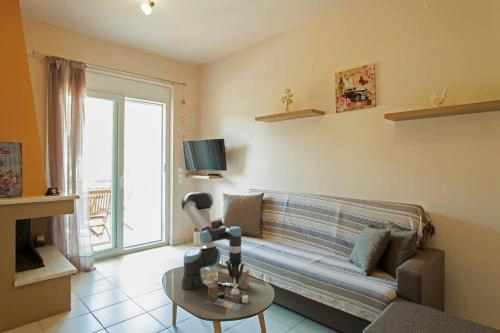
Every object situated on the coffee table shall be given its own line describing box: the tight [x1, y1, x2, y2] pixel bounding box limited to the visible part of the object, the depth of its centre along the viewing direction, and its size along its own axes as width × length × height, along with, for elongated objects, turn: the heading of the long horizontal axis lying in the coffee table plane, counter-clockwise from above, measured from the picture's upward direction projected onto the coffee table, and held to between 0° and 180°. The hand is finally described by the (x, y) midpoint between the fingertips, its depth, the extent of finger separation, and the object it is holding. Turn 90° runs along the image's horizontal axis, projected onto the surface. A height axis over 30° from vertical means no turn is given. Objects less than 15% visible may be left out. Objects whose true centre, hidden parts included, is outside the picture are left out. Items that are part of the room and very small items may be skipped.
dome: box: [229, 288, 241, 297], centre depth 185 cm, size 7×7×5 cm
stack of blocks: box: [217, 266, 250, 290], centre depth 203 cm, size 21×6×12 cm, turn 71°
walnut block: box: [207, 283, 219, 303], centre depth 182 cm, size 4×4×9 cm
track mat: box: [206, 297, 243, 311], centre depth 178 cm, size 22×7×1 cm, turn 64°
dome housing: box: [224, 288, 247, 304], centre depth 185 cm, size 10×10×3 cm
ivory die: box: [241, 294, 249, 304], centre depth 181 cm, size 3×3×3 cm
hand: (235, 288), depth 185 cm, fingers closed
